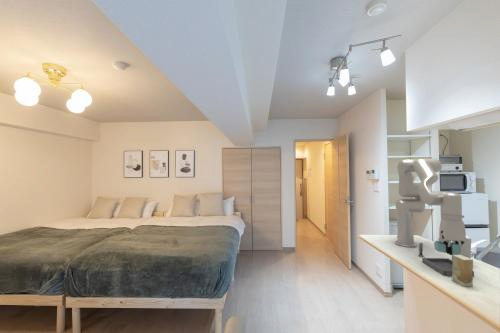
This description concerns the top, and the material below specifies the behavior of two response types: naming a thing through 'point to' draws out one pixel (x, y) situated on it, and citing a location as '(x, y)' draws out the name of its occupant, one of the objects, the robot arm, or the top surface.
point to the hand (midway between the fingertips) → (453, 253)
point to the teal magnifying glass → (442, 248)
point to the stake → (420, 250)
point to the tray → (440, 265)
